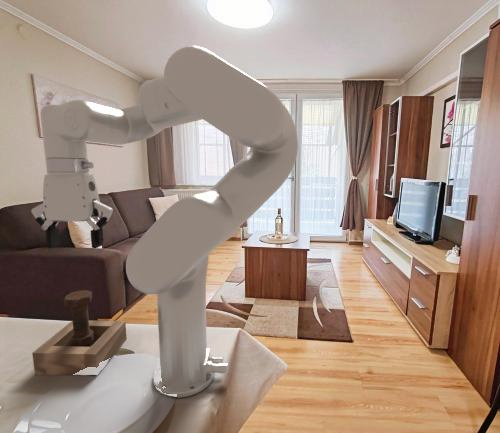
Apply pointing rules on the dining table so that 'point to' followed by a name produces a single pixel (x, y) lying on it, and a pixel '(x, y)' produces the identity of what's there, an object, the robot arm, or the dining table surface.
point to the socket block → (79, 349)
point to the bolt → (80, 318)
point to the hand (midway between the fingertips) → (75, 246)
